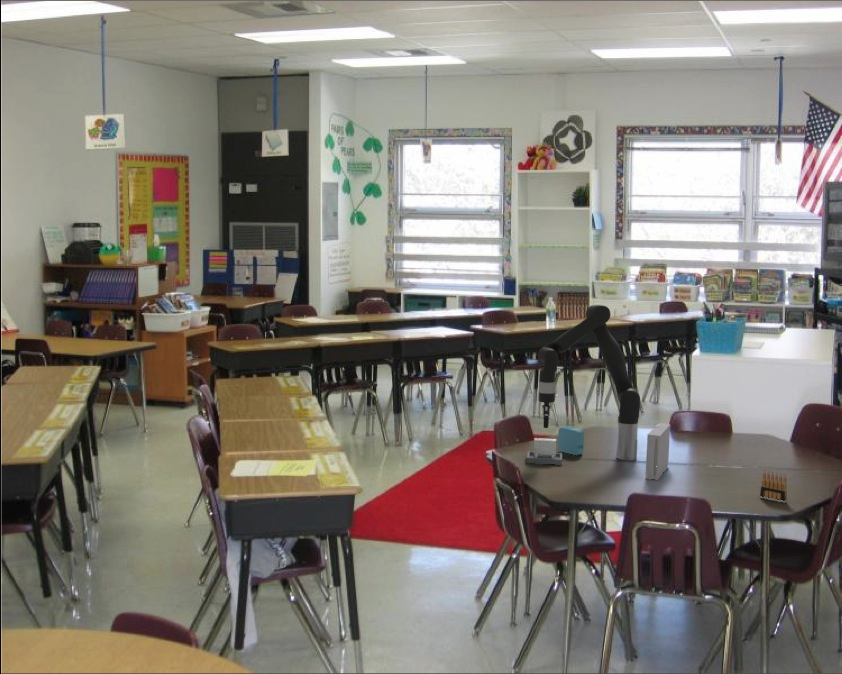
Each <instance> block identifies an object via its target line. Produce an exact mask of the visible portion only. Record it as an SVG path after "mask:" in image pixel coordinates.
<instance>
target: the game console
mask: <svg viewBox="0 0 842 674" xmlns="http://www.w3.org/2000/svg"><path fill="white" fill-rule="evenodd" d="M670 433H671V423H670V424H669V423H661V422H660V423H659V422H658V423H657V424H656V425H655V426H654V427H653V429H651V430H650V431H649V432H648V433H647V437H646V438H647V439H646V440H647V441H646V457H645V458H646V459H645V460H646V461H645V478H644V479H646V478H647V479H646V480H651V479H655V480H654V481H658V480H659V479H660V478H661V477H662V475H664V473H665V471H666V470H667V469H668V465H669V456H670V455H669V454H670V437H671V434H670ZM656 466H657V467H656ZM663 472H664V473H663ZM660 476H661V477H660Z"/></svg>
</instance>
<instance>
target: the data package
mask: <svg viewBox="0 0 842 674" xmlns="http://www.w3.org/2000/svg"><path fill="white" fill-rule="evenodd" d="M584 437H585V432H584V430H583V429H580V428H575V427H570V426H561V427H559V429H558V443H557V450H558V452H559V451H561V452H560V453H562V452H565V453H564V454H566V453H569V454H568V455H570V454H573V455H572V456H574V455H576V456H580V454H581V455H583V454H584V442H585V441H584V440H585V438H584Z"/></svg>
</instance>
